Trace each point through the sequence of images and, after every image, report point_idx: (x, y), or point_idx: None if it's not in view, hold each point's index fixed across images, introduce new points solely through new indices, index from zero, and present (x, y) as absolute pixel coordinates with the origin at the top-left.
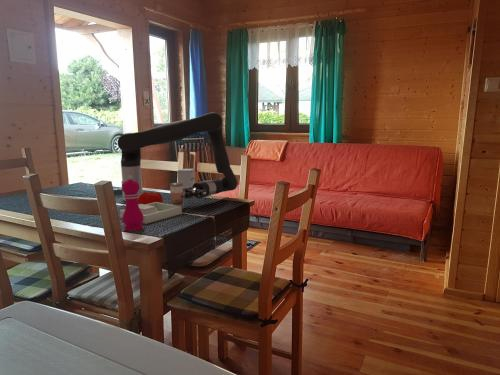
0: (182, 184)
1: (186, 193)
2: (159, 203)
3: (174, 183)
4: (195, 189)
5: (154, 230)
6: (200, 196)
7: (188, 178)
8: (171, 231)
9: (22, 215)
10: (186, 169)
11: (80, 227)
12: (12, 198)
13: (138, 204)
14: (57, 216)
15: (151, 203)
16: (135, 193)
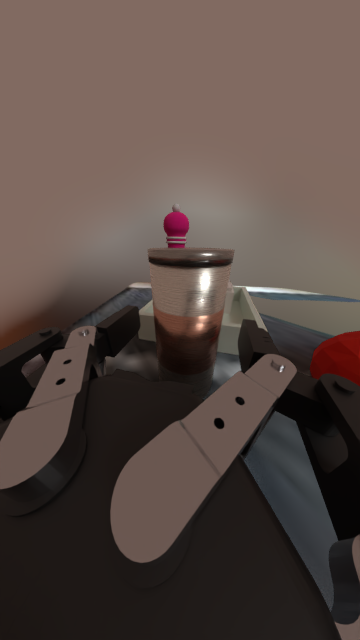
0: (148, 255)
1: (127, 307)
2: (235, 324)
3: (206, 249)
4: (50, 359)
5: (150, 293)
6: (30, 380)
7: None
8: (125, 294)
9: None
10: None
11: (248, 288)
12: None
13: (230, 286)
14: (353, 299)
15: (255, 318)
16: (167, 235)
